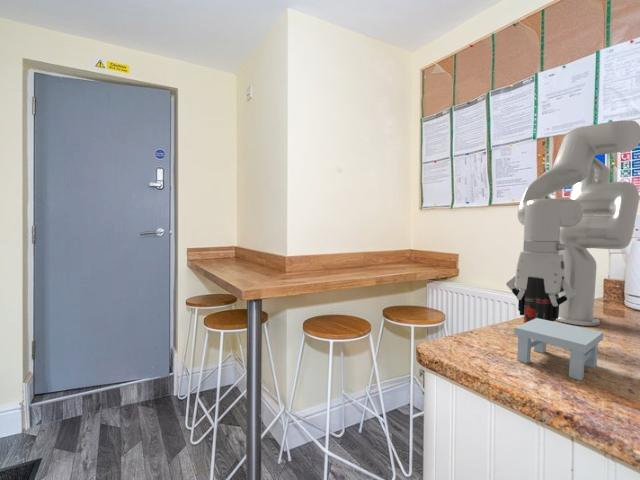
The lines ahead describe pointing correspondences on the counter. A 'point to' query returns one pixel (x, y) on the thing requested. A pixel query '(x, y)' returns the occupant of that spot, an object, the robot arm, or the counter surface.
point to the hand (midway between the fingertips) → (537, 316)
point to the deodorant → (536, 300)
